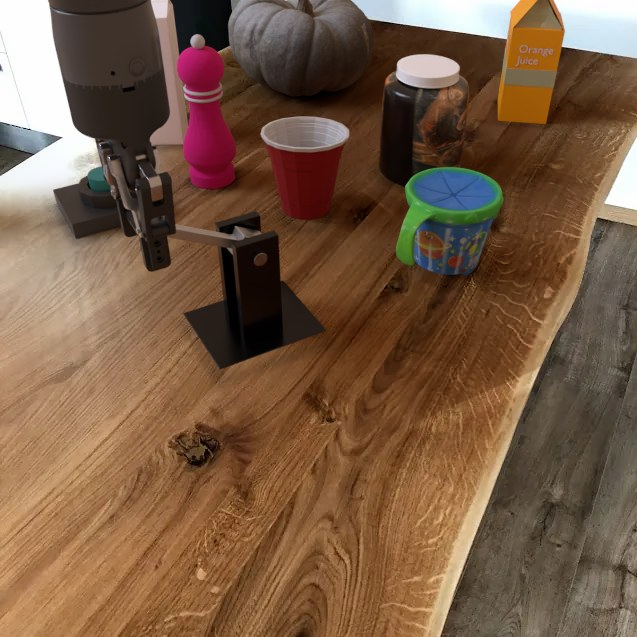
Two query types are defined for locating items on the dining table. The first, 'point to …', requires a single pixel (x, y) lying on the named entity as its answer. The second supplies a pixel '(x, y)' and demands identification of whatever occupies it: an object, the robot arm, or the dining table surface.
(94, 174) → the button
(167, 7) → the milk
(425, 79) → the jar
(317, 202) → the plastic cup
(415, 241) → the snack cup
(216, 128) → the pepper mill
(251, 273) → the bracket
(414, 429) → the dining table surface
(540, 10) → the orange juice
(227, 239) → the lever
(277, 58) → the gourd
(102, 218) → the control block
